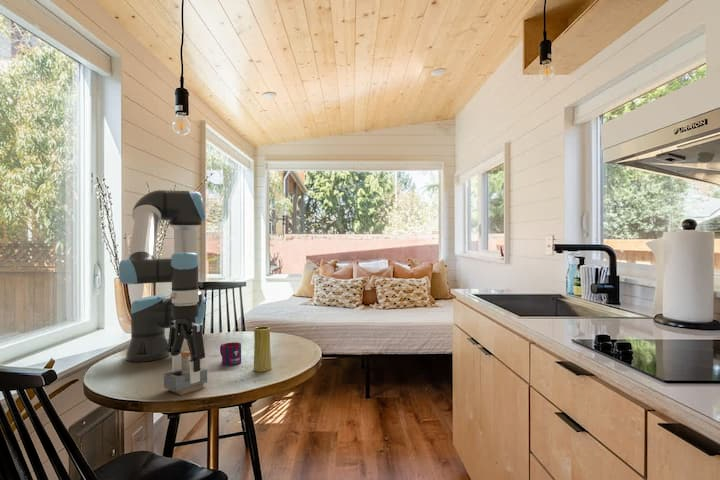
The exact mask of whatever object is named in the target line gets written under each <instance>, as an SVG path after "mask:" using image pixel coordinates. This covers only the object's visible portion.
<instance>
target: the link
mask: <svg viewBox="0 0 720 480" xmlns="http://www.w3.org/2000/svg"><path fill="white" fill-rule="evenodd" d="M206 383H208V369H207V368H204V367H201V366H200V381H199V382H196V383H193V384H191V383H190V373H187V374H184V375H182V369H181V370H177V371H174V372H172V371H170V372H167V373H163V388H164V389H167V390H168V391H169V390H172V391H174V392H173V393H175V392H178V391H181V390H184V389H188V388H191V387H194V386H197V385H200V384H203V385H204V384H206ZM172 391H171V392H172Z"/></svg>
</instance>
